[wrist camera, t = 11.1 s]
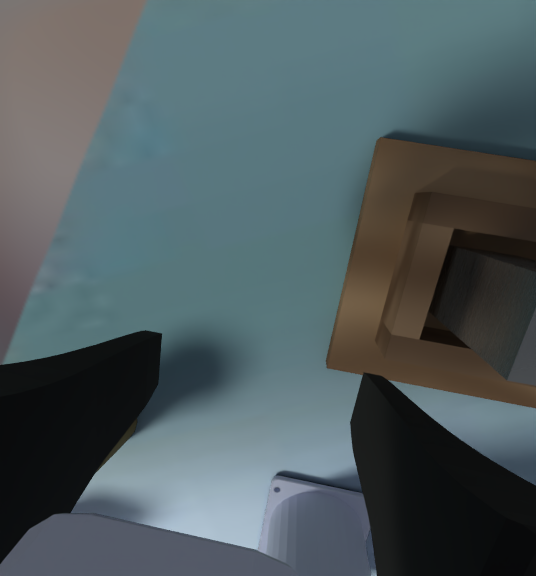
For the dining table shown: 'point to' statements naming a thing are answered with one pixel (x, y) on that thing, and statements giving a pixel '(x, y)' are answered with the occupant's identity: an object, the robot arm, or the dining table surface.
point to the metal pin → (491, 308)
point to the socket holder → (428, 263)
